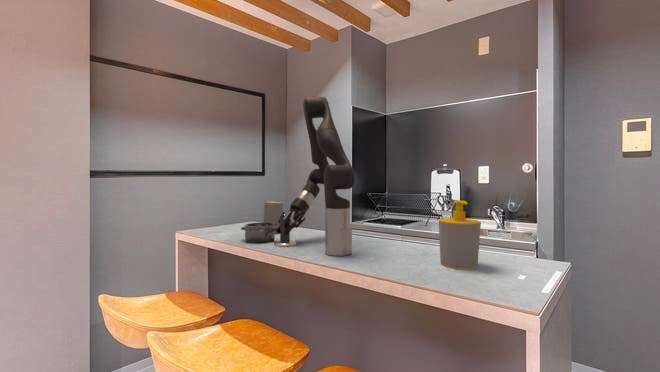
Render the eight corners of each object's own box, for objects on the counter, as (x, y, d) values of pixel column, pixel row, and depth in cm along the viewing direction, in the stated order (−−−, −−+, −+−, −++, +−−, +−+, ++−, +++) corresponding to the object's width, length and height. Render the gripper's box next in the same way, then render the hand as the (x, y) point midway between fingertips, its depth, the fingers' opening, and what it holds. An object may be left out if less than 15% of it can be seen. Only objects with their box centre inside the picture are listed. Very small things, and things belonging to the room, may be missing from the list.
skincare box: (262, 233, 172) (262, 202, 172) (269, 231, 179) (269, 201, 179) (278, 234, 170) (278, 202, 169) (284, 232, 177) (284, 201, 176)
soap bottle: (453, 271, 105) (454, 202, 104) (430, 261, 118) (430, 199, 117) (489, 268, 109) (490, 201, 108) (462, 258, 121) (463, 198, 120)
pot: (283, 238, 158) (283, 223, 158) (272, 244, 146) (272, 227, 146) (248, 237, 162) (248, 222, 162) (235, 242, 150) (235, 226, 149)
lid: (300, 244, 146) (300, 218, 145) (283, 248, 139) (283, 221, 138) (286, 241, 152) (286, 216, 151) (269, 244, 145) (269, 218, 145)
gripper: (287, 196, 155) (265, 226, 146) (309, 197, 145) (287, 229, 137) (296, 207, 159) (275, 236, 151) (318, 209, 149) (297, 241, 141)
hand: (281, 233), depth 144 cm, fingers open, 4 cm apart
